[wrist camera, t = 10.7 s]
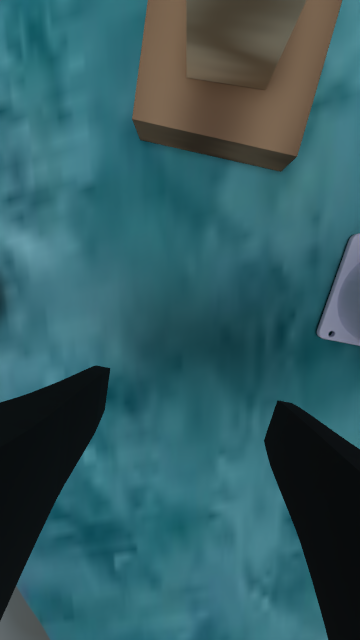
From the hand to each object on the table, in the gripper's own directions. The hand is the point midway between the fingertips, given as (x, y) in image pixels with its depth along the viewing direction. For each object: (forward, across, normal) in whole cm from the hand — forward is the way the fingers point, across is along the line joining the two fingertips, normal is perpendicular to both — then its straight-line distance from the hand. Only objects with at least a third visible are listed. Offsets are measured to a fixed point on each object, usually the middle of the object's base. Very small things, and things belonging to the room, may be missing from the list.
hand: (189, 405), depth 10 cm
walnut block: (+10, +1, -18) cm, 21 cm away
